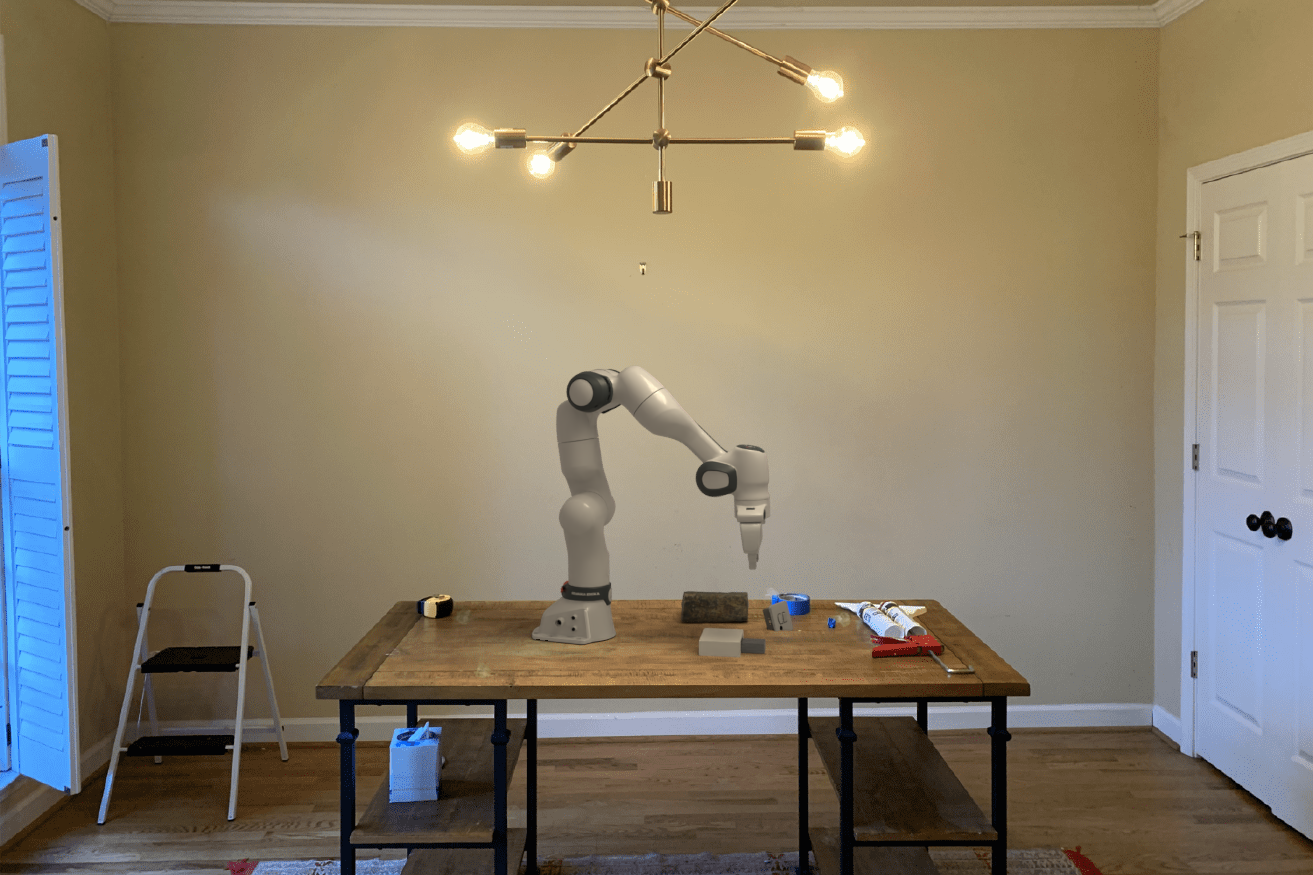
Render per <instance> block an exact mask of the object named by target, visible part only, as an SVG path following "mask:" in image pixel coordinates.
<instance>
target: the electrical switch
mask: <svg viewBox="0 0 1313 875" xmlns="http://www.w3.org/2000/svg"><path fill="white" fill-rule="evenodd" d="M762 613H763V618H764V620H765V625H766V630H768V631H769V630H770V631H774V632H779V631H793V630H794V627H793V622H792V618H791V613H790V609H789V606H788V602H787V601H786V600H781V601H779V602H776V603H774V604H771V605H768V607H766V608H762Z"/></svg>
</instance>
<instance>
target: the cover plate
mask: <svg viewBox="0 0 1313 875" xmlns="http://www.w3.org/2000/svg"><path fill="white" fill-rule="evenodd" d="M766 640H767V639H766V638H753V637H751V638H749V637H746V638H745V637H744V638H742V639H741V654H742V653H743V654H763V655H764V654H766Z"/></svg>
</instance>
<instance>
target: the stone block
mask: <svg viewBox="0 0 1313 875" xmlns="http://www.w3.org/2000/svg"><path fill="white" fill-rule="evenodd" d="M680 603H681V604H680V605H681V612H680V614H681V615H680V620H681V622H682V623H694V624H696V623H701V624H702V623H728V622H748V620H749V606H750V602H749V597H748V592H747V591H743V592H742V591H730V592H729V591H727V592H722V591H694V590H692V591H691V590H688V591H686V590H685V591H683V594H682V598H681V602H680Z"/></svg>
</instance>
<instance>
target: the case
mask: <svg viewBox="0 0 1313 875" xmlns="http://www.w3.org/2000/svg"><path fill="white" fill-rule="evenodd" d="M744 632H745V631H744V628H743V629H739V628H715V627H713V628H712V627H703V630H702V632H701V635H700V637H699V640H698V656H702V657H703V656H704V657H720V658H721V657H722V658H723V657H725V658H726V657H727V658H741V656H742V655H741V654H742V653H741V639H742V638H745V637H744Z"/></svg>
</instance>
